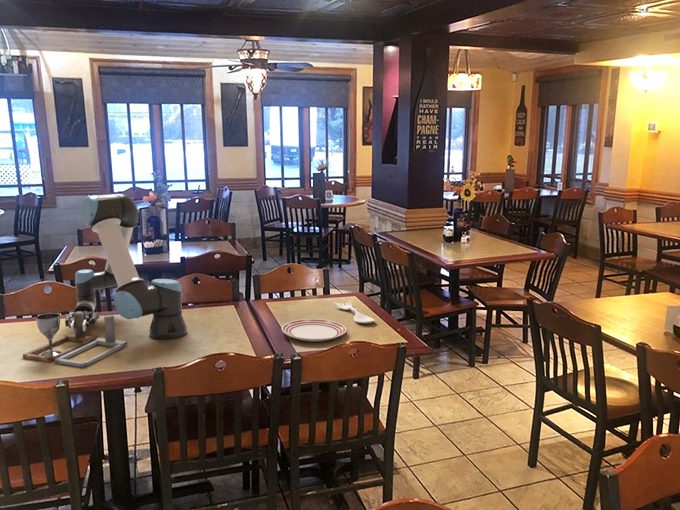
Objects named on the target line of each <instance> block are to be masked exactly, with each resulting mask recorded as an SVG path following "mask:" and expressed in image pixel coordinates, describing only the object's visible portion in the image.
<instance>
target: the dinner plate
mask: <svg viewBox="0 0 680 510" xmlns="http://www.w3.org/2000/svg"><path fill="white" fill-rule="evenodd" d="M281 331H282V332H283V334H285V335H286V336H288V337H290V338H293V339H297V340H298V341H302V342H303V341H304V342H311V343H313V342H315V343H317V342H319V343H320V342H325V341H330V340H334V339H336V338H338V337H341V336H343V335H344V334H346V332H347V328H346V326H345V325H343V324H341V323H340V322H337V321H333V320H329V319H322V318H321V319H320V318H303V319H302V318H301V319H296V320H295V319H294V320H292V321H288V322H286V323H284V324H283V325H282V326H281Z"/></svg>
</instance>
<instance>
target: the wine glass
mask: <svg viewBox="0 0 680 510" xmlns="http://www.w3.org/2000/svg"><path fill="white" fill-rule="evenodd" d="M35 319H36V325H37V329H38V331H39V332H40V334H42V335H43V336H44V337H45V338H46V339H47V341H48V344H49V346H50V348H49V350H47V351H43V352H42V353H41V355H40V356H47V357H52V356H54V355H56V354H59V353H61V352H62V350H57V349H56V350H55V349H54V350H53V347H52V342H53V339H54V336H55V335H56V334H57V333H58V332H59V330H60V325H61V315H60V313H59V312H58V313H57V312H46V313H42V314H38V315H37V316H36V318H35Z"/></svg>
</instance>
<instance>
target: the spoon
mask: <svg viewBox="0 0 680 510" xmlns="http://www.w3.org/2000/svg"><path fill="white" fill-rule="evenodd" d="M333 303H334V305H335V306H337V307H338V308H339V309H341V310H344V311H350V310H351V312H354V313H355V314H354V316H353V320H354V321H355V322H356V323H359V324H371V323H373V322H375V318H372V317H371V316H368V315H366V314H363V313H361V312H359V311H358V309H357V308H355V307H354V306H353V303H352V301H351V300H349V302H348V301H347V302H342V303H340V302H336V301H334V302H333Z"/></svg>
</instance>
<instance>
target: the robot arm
mask: <svg viewBox="0 0 680 510" xmlns="http://www.w3.org/2000/svg"><path fill="white" fill-rule="evenodd" d="M79 213H80V215H79V217H80V219H81V222H82V223H83V225H85V226H90V228H91V230H92V232H94V233H96V234H97V236H98V238H99V240H100V243H101V246H102V248H103V251H104V253H105V255H106V262H105V267H104V270H103V271H98V272H94V270H92V269H80V270H78V271H76V272H75V277H74V282H75V291H76V306H75V308H74V311H73V312H72V313H71V314H69V313H65V315H64V318H65V319H64V325H65V327H68V328H69V329H70V332H71V333H73V332H75V325H74V313H75V312H83V313H84V322H83V331H85V332H86V329H87V327H90V326H91V325H93V326H94V325H95V324H96V322H97V320H98V319H100V312H99V311H96V312H95V309H96V307H97V299H96V290H101V289H102V290H103V289H106V288H112V287H116V288H115V292H116V293H115V294H114V296H113V301H114V302H113V305H114V308H115V310H116V312H117V313H118V314H119V315H120V317H121V318H124V319H125V320H134V319H140V318H141V317H142V318H143V317H145V316H150V315H152V319H151V323H150V326H149V337H151V338H153V339H158V340H171V339H172V340H173V339H177V338H180V337H183V336H185V335H187V332H188V331H187V330H188V327H187V324H186V322H185V319H184V316H183V307H182V306H183V304H182V286H181V282H180V281H178V280H175V279H170V278H155V279H152V280H151V281H150V284H149V285H147V283H146V281H145V279H143V278H141V277H140V276H139V273H138V271H137V269H136V266H135V263H134V260H133V258H132V255H131V253H130V251H129V247H130V242H131V240H132V235H133V231H134V228H136V227H137V224H138V221H139V210H138V207H137V205H136V202H135V201H134V200H133V199H132V198H131V197H129V196H128V195H127V194H123V193H112V194H111V193H109V194H99V195H98V194H97V195H96V194H94V195H87V196H85V197H84V198H83V199H82V201H81V202H80V209H79Z"/></svg>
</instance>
